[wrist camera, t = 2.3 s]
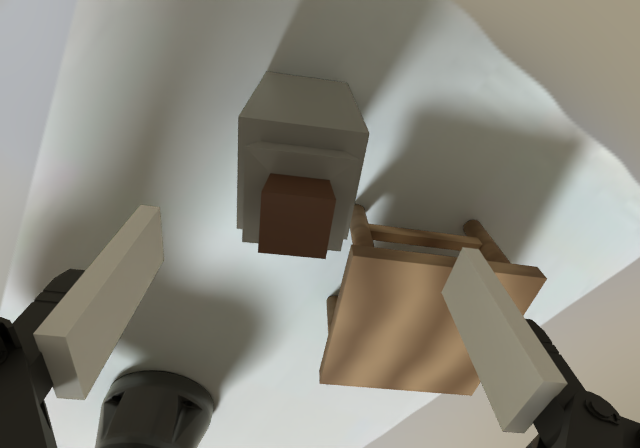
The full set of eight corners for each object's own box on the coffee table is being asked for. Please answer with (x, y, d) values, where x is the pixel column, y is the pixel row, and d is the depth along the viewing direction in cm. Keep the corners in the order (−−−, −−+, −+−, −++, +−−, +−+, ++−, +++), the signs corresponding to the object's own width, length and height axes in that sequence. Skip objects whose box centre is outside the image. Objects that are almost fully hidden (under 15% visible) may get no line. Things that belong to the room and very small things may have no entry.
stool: (317, 309, 44) (319, 383, 36) (343, 195, 36) (353, 255, 27) (441, 322, 46) (471, 395, 37) (493, 215, 37) (547, 278, 29)
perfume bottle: (334, 158, 34) (354, 289, 18) (262, 149, 33) (220, 277, 18) (347, 82, 30) (384, 167, 15) (266, 71, 30) (219, 147, 14)
